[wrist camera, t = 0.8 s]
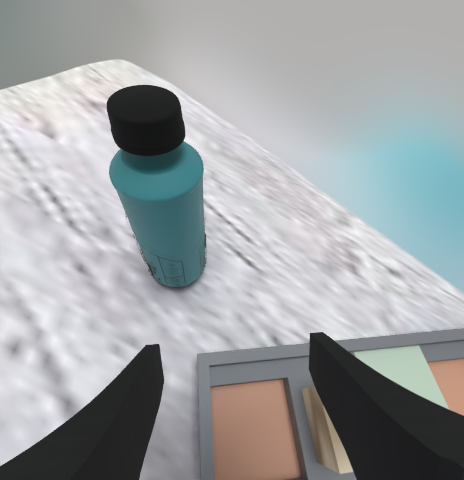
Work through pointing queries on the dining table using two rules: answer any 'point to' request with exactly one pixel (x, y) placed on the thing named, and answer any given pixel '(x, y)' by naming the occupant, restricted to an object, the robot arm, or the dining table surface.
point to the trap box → (292, 403)
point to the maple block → (324, 434)
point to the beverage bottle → (159, 182)
